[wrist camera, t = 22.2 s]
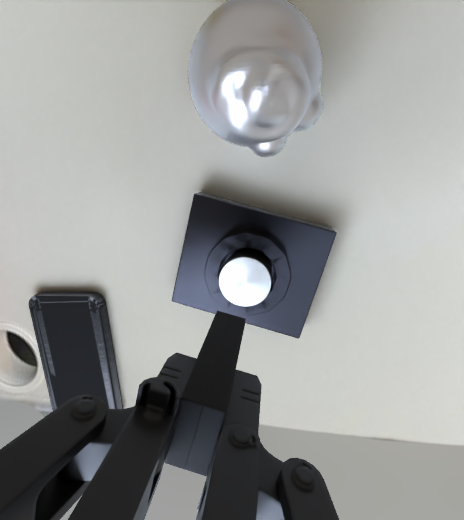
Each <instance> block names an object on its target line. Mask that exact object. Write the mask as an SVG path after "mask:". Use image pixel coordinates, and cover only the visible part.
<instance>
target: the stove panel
mask: <svg viewBox="0 0 464 520" xmlns="http://www.w3.org/2000/svg"><path fill="white" fill-rule="evenodd" d="M335 236H336V231H335V230H334V229H333V228H332V227H328V226H324V225H321V224H317V223H313V222H310V221H306V220H302V219H298V218H295V217H291V216H287V215H284V214H280V213H276V212H273V211H269V210H265V209H262V208H258V207H254V206H250V205H247V204H243V203H239V202H236V201H232V200H228V199H225V198H221V197H217V196H214V195H210V194H206V193H202V192H199V193H196V194H194V197H193V202H192V207H191V212H190V216H189V221H188V226H187V231H186V235H185V240H184V245H183V249H182V254H181V259H180V264H179V268H178V273H177V278H176V283H175V287H174V292H173V297H172V301H173V302H177V303H180V304H183V305H187V306H190V307H194V308H197V309H200V310H204V311H207V312H211V313H214V314H216V312H217V310H218V311H221V312H224V313H228V314H231V315H235V316H238V317H242V318H245V319H246V321H245V323H248V324H251V325H255V326H258V327H262V328H265V329H268V330H272V331H275V332H278V333H282V334H285V335H289V336H292V337H295V338H299V337H300V335H301V332H302V329H303V326H304V323H305V321H306V318H307V315H308V312H309V309H310V307H311V304H312V301H313V298H314V295H315V292H316V290H317V287H318V284H319V281H320V278H321V276H322V273H323V270H324V267H325V264H326V261H327V259H328V256H329V253H330V250H331V247H332V245H333V242H334V239H335ZM240 251H254V252H257V253H259V254H260V255H262V256H263V257H264V258H265V259H266V260H267V261H268V263H269V265H270V267H271V271H272V281H271V289H270V292H269V294H268V296H267V297H266V298H265V299H264V300H263V301H262V302H260V303H259V304H257V305H254V306H249V307H243V306H238V305H235V304H233V303H231V302H230V301H229V300H227V299H226V298H225V297H224V295H223V294H222V292H221V290H220V286H219V275H220V272H221V270H222V268H223V266H224V265H225V263H226V261H227V260H228V259H229V257H231V256H232V255H233V254H235V253H237V252H240Z"/></svg>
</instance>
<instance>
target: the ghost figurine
mask: <svg viewBox="0 0 464 520" xmlns="http://www.w3.org/2000/svg"><path fill="white" fill-rule="evenodd" d="M321 79H322V56H321V50H320V46H319V42H318V39H317V37H316V34H315V32H314V30H313V28H312V26H311V25H310V23H309V22H308V20H307V19H306V17H305V16H304V15H303V14H302V13H301V12H300V11H299V10H298V9H297V8H296V7H295V6H293V5H292V4H290V3H289V2H287V1H286V0H229V1H227V2H226V3H224V4H223V5H221V6H220V7H218V8H217V9H216V10H215V11H214V12H213V13H212V14H211V15H210V16H209V17H208V18H207V20H206V21H205V22H204V24H203V25H202V27H201V28H200V30H199V32H198V34H197V36H196V38H195V40H194V43H193V46H192V49H191V53H190V58H189V66H188V80H189V88H190V93H191V97H192V100H193V103H194V105H195V108H196V110H197V112H198V114H199V115H200V117H201V119H202V120H203V121H204V123H205V124H206V125H207V126H208V127H209V128H210V129H211V130H212V131H213V132H214V133H215V134H216V135H217V136H219V137H220V138H222V139H224V140H225V141H227V142H230V143H232V144H235V145H238V146H243V147H248V148H250V149H251V150H252V151H253V152H254V153H255V154H256V155H258V156H260V157H270V156H273V155H275V154H277V153H279V152H280V151H281V150H282V149H283V147H284V146H285V143H286V140H287V137H288V136H289V135H290V134H292V133H293V132H295V131H302V130H306V129H308V128H310V127H311V126H313V125H314V123H315V122H316V121H317V119H318V118H319V116H320V114H321V112H322V109H323V99H322V96H321V94H320V85H321Z"/></svg>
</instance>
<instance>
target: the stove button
mask: <svg viewBox="0 0 464 520" xmlns="http://www.w3.org/2000/svg"><path fill="white" fill-rule="evenodd" d="M271 281H272V271H271V267H270V265H269V263H268V261H267V260H266V259H265V258H264V257H263V256H262V255H260V254H259V253H257V252H254V251H240V252H237V253H235V254H233V255H232V256H231V257H229V259H228V260H227V261H226V263H225V265H224V266H223V268H222V270H221V272H220V275H219V286H220V290H221V292H222V294H223V295H224V297H225V298H226V299H227V300H229V301H230V302H231V303H233V304H235V305H238V306H243V307H249V306H254V305H257V304H259V303H260V302H262V301H263V300H264V299H265V298H266V297H267V296H268V294H269V292H270V289H271Z"/></svg>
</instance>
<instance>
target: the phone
mask: <svg viewBox="0 0 464 520" xmlns="http://www.w3.org/2000/svg"><path fill="white" fill-rule="evenodd" d="M29 308H30V313H31V317H32V321H33V326H34V330H35V335H36V339H37V343H38V348H39V352H40V357H41V361H42V365H43V370H44V374H45V379H46V383H47V387H48V392H49V396H50V401H51V405H52V409H53V411H54V410H55V409H57V408H58V407H60V406H61V405H62V404H64V403H65V402H66V401H68V400H70V399H72V398H74V397H76V396H80V395H84V394H85V395H95V396H98V397H100V398H102V399H103V400H104V401H105V402H106V405H107V407H108V409H122V402H121V396H120V390H119V383H118V377H117V371H116V364H115V358H114V352H113V346H112V339H111V333H110V327H109V321H108V314H107V308H106V302H105V299H104V298H103V297H102V296H101V295H100V294H98V293H96V292H41V293H39V294H37V295H35V296H33V297H32V298H31V299H30V300H29Z"/></svg>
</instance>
